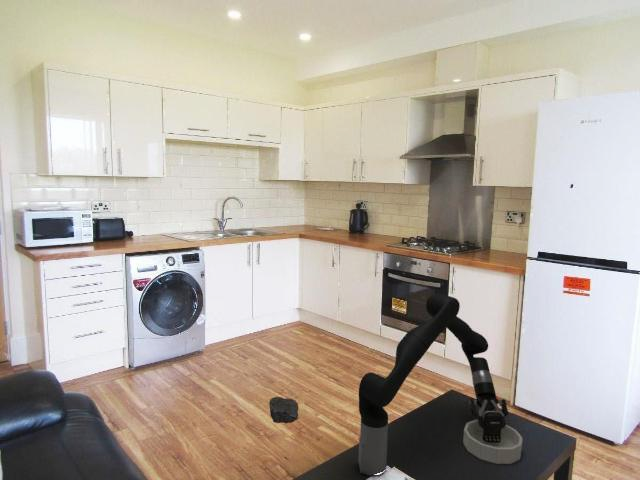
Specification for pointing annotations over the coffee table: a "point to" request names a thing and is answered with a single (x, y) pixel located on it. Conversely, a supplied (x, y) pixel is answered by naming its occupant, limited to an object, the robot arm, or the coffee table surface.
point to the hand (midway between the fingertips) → (493, 427)
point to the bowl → (493, 444)
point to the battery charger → (492, 426)
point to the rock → (283, 410)
